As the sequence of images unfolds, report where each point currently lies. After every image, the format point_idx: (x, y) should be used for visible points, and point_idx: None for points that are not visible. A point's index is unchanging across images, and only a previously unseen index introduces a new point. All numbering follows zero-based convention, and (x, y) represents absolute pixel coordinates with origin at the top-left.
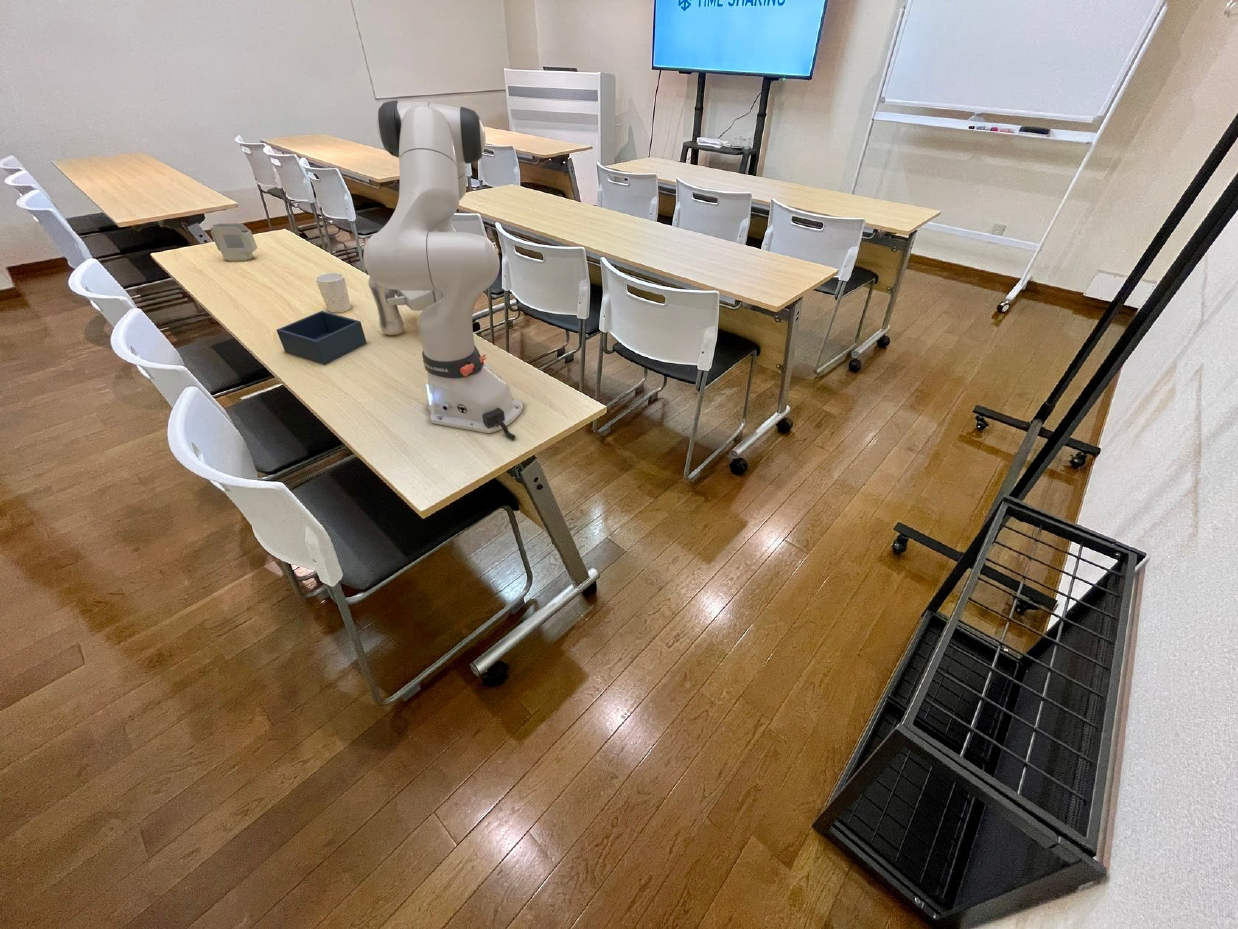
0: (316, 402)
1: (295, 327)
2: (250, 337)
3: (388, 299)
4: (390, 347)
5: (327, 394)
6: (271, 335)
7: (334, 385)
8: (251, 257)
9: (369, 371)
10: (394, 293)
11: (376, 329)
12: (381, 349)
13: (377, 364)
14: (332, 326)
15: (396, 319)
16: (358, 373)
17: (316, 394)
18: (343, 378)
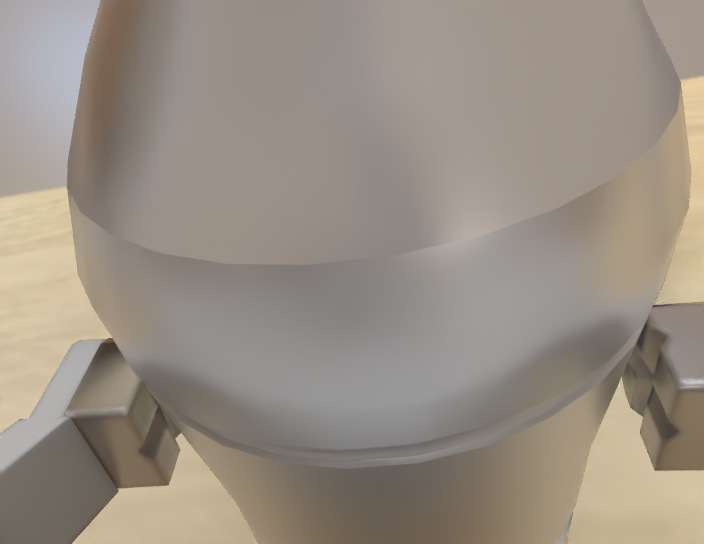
0: (3, 201)
1: None
2: (687, 86)
3: (72, 347)
4: (166, 533)
5: (13, 223)
6: (689, 121)
7: (46, 242)
8: None
9: (6, 353)
10: (249, 507)
11: (604, 539)
12: (189, 468)
13: (30, 399)
14: None
15: None
16: (41, 314)
17: (49, 203)
18: (63, 268)
